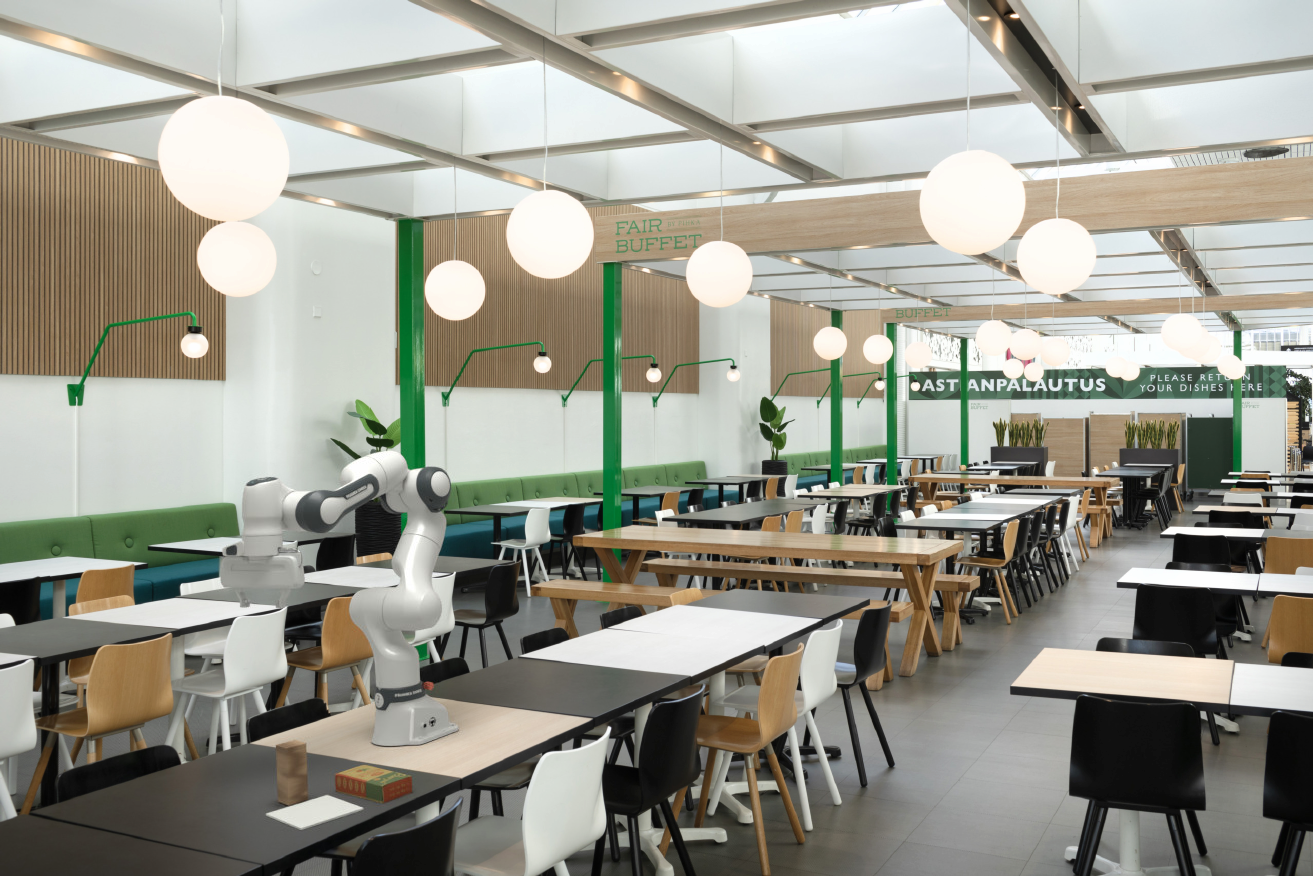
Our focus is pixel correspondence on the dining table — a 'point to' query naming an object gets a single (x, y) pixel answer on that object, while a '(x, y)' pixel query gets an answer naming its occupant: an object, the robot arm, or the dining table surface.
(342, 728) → the dining table surface
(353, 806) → the mat
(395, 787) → the carton
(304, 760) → the block
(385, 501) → the robot arm
